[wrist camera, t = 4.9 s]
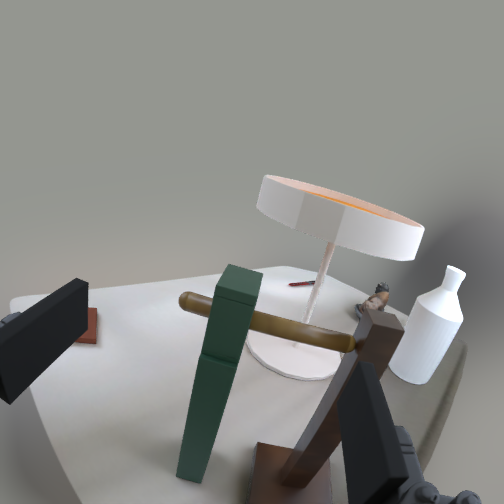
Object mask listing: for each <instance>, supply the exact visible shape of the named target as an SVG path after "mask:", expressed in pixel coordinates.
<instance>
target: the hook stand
mask: <svg viewBox="0 0 504 504" xmlns="http://www.w3.org/2000/svg"><path fill="white" fill-rule="evenodd" d="M212 301H213V298H209V297H206V296H203V295H199V294H196V293H193V292H184V293H183V294H181V295H180V297H179V306H180V307H181V308H182V309H183V310H185V311H188V312H191V313H194V314H197V315H200V316H204V317H207V318H209V314H210V310H211V305H212ZM249 330H252V331H256V332H260V333H264V334H267V335H271V336H275V337H279V338H283V339H287V340H291V341H295V342H299V343H303V344H307V345H311V346H315V347H320V348H324V349H328V350H333V351H337V352H342V353H345V354H344V356H343V359H342V361H341V363H340V365H339V367H338V369H337V371H336V373H335V375H334V377H333V379H332V381H331V383H330V385H329V387H328V389H327V391H326V393H325V394H324V396H323V398H322V400H321V402H320V404H319V406H318V408H317V409H316V411H315V413H314V415H313V417H312V418H311V420H310V422H309V424H308V425H307V427H306V429H305V431H304V432H303V434H302V436H301V438H300V439H299V441H298V443H297V444H296V446H295V448H294V449H291V448H285V447H280V446H275V445H270V444H265V443H260V442H257V444H256V446H255V450H254V456H253V463H252V470H251V476H250V482H249V489H248V495H247V501H246V504H332V491H331V475H330V462H329V457H330V455H331V454H332V453H333V451H334V450H335V449H336V447H337V446H338V444H339V443H340V441H341V433H340V426H339V419H338V412H337V405H336V402H337V401H338V399H339V397H340V395H341V393H342V392H343V390H344V388H345V386H346V384H347V382H348V380H349V379H350V377H351V375H352V373H353V371H354V369H355V367H356V365H357V363H358V361H364V362H369V363H373V364H374V367H375V370H376V373H377V375H378V378H379V380H380V378H381V376H382V375H383V373H384V371H385V369H386V368H387V366H388V364H389V362H390V360H391V358H392V356H393V355H394V353H395V351H396V349H397V347H398V345H399V343H400V341H401V339H402V337H403V335H404V333H405V330H404V329H403V327H402V325H401V324H400V322H399V320H398V319H397V317H396V316H395V315H394V314H390V313H386V312H382V311H378V310H374V309H370V308H365V310H364V312H363V314H362V317H361V319H360V321H359V324H358V326H357V328H356V330H355V333H354V335H353V336H352V335H349V334H345V333H341V332H337V331H333V330H328V329H324V328H320V327H316V326H312V325H308V324H304V323H300V322H296V321H292V320H289V319H285V318H281V317H277V316H273V315H270V314H266V313H262V312H259V311H255V310H254V312H253V316H252V319H251V322H250V326H249Z"/></svg>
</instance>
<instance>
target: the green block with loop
mask: <svg viewBox="0 0 504 504" xmlns="http://www.w3.org/2000/svg"><path fill="white" fill-rule="evenodd" d="M262 277H263V273H259V272H256V271H252V270H248V269H245V268H241V267H238V266H234V265H231V264H228V266H227V267H226V269H225V271H224V272H223V274H222V276H221V278H220V279H219V281H218V283H217V285H216V287H215V292H214V296H213V301H212V305H211V310H210V314H209V319H208V323H207V328H206V332H205V337H204V341H203V346H202V350H201V354H200V356H199V360H198V365H197V370H196V374H195V379H194V384H193V389H192V394H191V399H190V404H189V409H188V414H187V419H186V425H185V430H184V435H183V440H182V446H181V451H180V456H179V462H178V467H177V473H176V477H179V478H183V479H186V480H189V481H193V482H196V483H200V484H201V482H202V479H203V476H204V473H205V470H206V467H207V463H208V460H209V457H210V454H211V451H212V448H213V445H214V441H215V438H216V435H217V432H218V429H219V425H220V422H221V419H222V416H223V413H224V409H225V406H226V403H227V400H228V396H229V393H230V390H231V387H232V383H233V380H234V377H235V373H236V370H237V366H238V363H239V359H240V356H241V353H242V349H243V346H244V343H245V339H246V336H247V333H248V329H249V326H250V322H251V319H252V316H253V312H254V309H255V305H256V302H257V299H258V294H259V290H260V286H261V281H262Z"/></svg>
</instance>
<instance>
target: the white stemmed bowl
mask: <svg viewBox="0 0 504 504" xmlns="http://www.w3.org/2000/svg"><path fill="white" fill-rule="evenodd" d="M256 208H257V209H259V210H260V211H261V212H262V213H264V214H265V215H266V216H267V217H270V218H272V219H274V220H276V221H278V222H280V223H282V224H284V225H286V226H288V227H291V228H292V229H294V230H297V231H300V232H303V233H305V234H308V235H311V236H313V237H316V238H319V239H322V240H324V241H327V242H328V245H327V248H326V251H325V255H324V257H323V260H322V263H321V266H320V269H319V272H318V275H317V278H316V281H315V284H314V287H313V289H312V292H311V295H310V298H309V301H308V304H307V306H306V309H305V312H304V315H303V317H302V320H301V323H304V324H308V322H309V319H310V317H311V314H312V311H313V309H314V306H315V303H316V300H317V298H318V295H319V292H320V289H321V286H322V284H323V281H324V278H325V275H326V272H327V269H328V266H329V263H330V260H331V258H332V255H333V252H334V249H335V245H338V246H342V247H345V248H349V249H352V250H356V251H359V252H362V253H365V254H369V255H372V256H377V257H382V258H388V259H393V260H398V261H406V260H414V258H415V255H416V252H417V250H418V247H419V244H420V241H421V238H422V235H423V232H424V230H425V228H424V227H423V226H422V225H420V224H418V223H416V222H415V221H413V220H411V219H408V218H406V217H404V216H401V215H399V214H397V213H395V212H392V211H390V210H387V209H385V208H382V207H379V206H377V205H374V204H372V203H369V202H366V201H363V200H360V199H357V198H354V197H351V196H348V195H345V194H342V193H339V192H336V191H332V190H329V189H326V188H322V187H319V186H316V185H312V184H308V183H305V182H301V181H297V180H292V179H288V178H283V177H279V176H272V175H265V176H264V178H263V182H262V186H261V189H260V193H259V197H258V201H257V205H256ZM247 345H248V347H249V349H250V351H251V353H252V355H253V356H254V357H255V358H256V359H257V360H259V361H260V362H261V363H262V364H263V365H264V366H265V367H267V368H269V369H271V370H273V371H275V372H277V373H279V374H281V375H283V376H285V377H290V378H294V379H299V380H304V381H311V380H323V379H325V378H327V377H329V376H331V375H333V374H335V373H336V371H337V369H338V367H339V365H340V363H341V358H340V354H339V352H337V351H333V350H328V349H324V348H320V347H315V346H311V345H307V344H303V343H299V342H295V341H291V340H287V339H283V338H279V337H275V336H271V335H267V334H264V333H260V332H256V331H252V330H249V333H248V337H247Z"/></svg>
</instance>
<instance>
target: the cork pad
mask: <svg viewBox="0 0 504 504" xmlns="http://www.w3.org/2000/svg"><path fill="white" fill-rule="evenodd" d="M96 323H97V308H89V307H88V330H87V331H86V332H85V333H84V334H83V335H82V336H81V337H79V338H78V339H77V340H76V341H75V342H79V343H92V344H96Z"/></svg>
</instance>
